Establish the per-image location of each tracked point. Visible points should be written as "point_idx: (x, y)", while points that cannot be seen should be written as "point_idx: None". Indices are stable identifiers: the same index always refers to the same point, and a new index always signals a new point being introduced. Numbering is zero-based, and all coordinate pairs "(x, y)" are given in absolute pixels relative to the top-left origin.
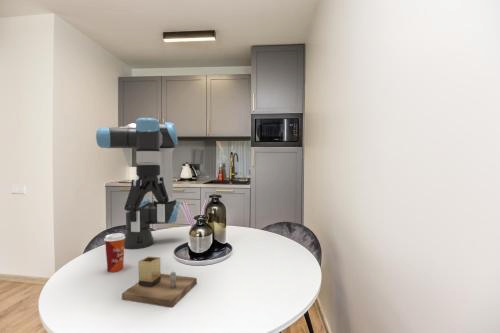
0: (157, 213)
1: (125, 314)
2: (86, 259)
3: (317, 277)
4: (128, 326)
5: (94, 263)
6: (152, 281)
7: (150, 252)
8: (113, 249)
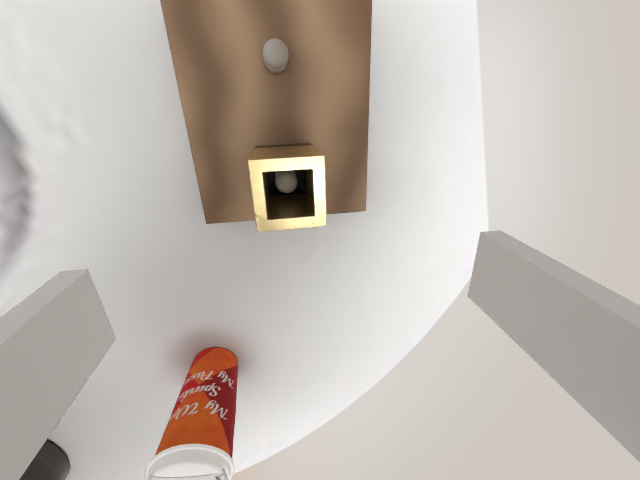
0: (53, 423)
1: (424, 133)
2: None
3: None
4: (472, 79)
5: None
6: (307, 145)
7: None
8: (225, 417)
